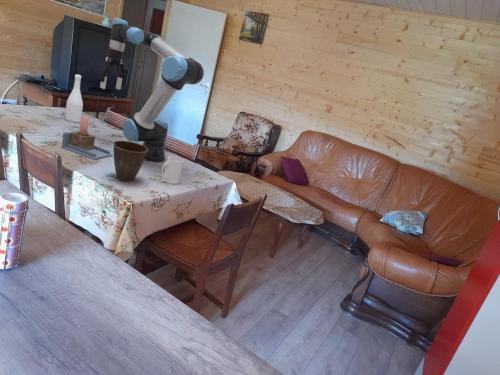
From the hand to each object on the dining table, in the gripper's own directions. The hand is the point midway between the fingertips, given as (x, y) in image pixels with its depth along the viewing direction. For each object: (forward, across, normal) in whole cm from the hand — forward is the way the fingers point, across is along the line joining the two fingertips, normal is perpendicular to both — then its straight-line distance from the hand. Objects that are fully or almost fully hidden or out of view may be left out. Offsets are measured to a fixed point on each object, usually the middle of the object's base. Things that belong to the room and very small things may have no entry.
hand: (110, 88), depth 195 cm
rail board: (+32, +22, +8) cm, 39 cm away
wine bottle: (+32, -20, -39) cm, 54 cm away
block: (+30, +22, +4) cm, 38 cm away
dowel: (+28, +22, +4) cm, 36 cm away
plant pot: (+32, +36, +41) cm, 63 cm away
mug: (+32, +20, +55) cm, 67 cm away
